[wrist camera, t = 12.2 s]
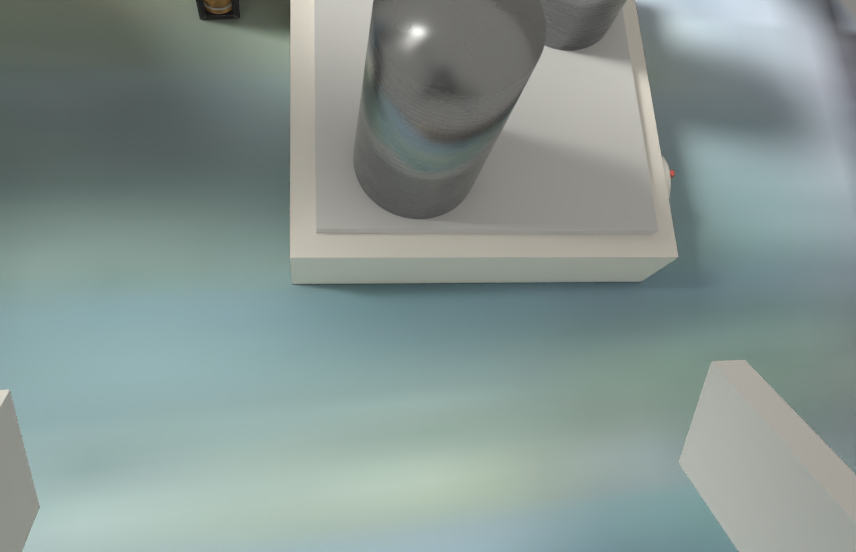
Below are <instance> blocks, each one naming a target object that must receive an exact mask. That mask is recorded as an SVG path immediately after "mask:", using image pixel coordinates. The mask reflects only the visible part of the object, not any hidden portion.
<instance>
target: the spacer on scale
mask: <svg viewBox="0 0 856 552" xmlns="http://www.w3.org/2000/svg"><path fill="white" fill-rule="evenodd" d="M539 1H540V3H541V6H542V9H543V11H544V15H545V21H546V41H545V45H544V46H547V47H550V48H553V49H558V50H565V51H573V50H580V49H584V48H587V47H590V46H592V45H594V44H595V43H597V42H598V41H599V40H601V39H602V38H603V36H604V35H605V34H606V33H607V31H608V29H609V28H610V26H611V25H612V23H613V22H614V20H615V19H616V17H617V15H618V14H619V12H620V11H621V9H622V8H623V6H624V4H625V3H626V1H627V0H539Z"/></svg>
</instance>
